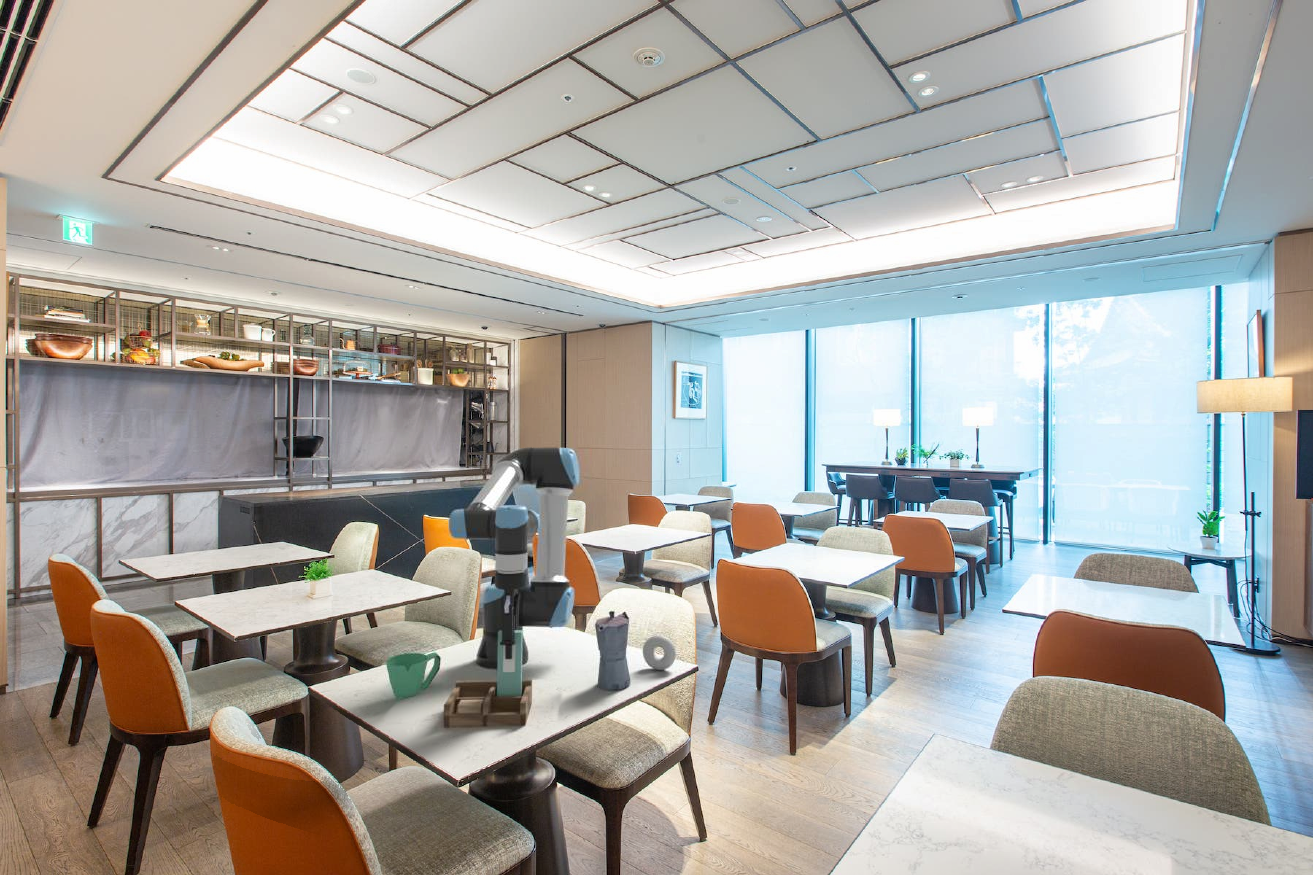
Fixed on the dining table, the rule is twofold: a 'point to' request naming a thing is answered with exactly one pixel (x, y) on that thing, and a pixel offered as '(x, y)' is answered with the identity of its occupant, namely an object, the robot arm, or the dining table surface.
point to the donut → (651, 657)
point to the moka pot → (613, 651)
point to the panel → (510, 680)
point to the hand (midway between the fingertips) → (509, 669)
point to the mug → (410, 673)
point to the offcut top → (470, 706)
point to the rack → (488, 705)
